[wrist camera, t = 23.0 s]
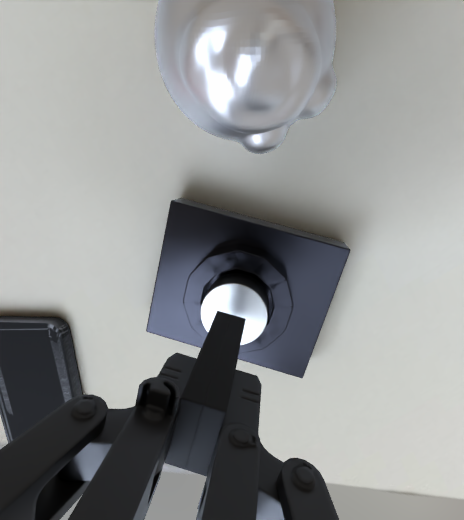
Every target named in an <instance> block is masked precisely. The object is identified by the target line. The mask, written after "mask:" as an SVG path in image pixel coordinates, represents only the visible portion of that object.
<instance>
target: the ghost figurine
mask: <svg viewBox="0 0 464 520" xmlns="http://www.w3.org/2000/svg"><path fill="white" fill-rule="evenodd" d="M335 43H336V15H335V8H334V3H333V0H159V2H158V7H157V12H156V19H155V49H156V56H157V61H158V66H159V69H160V73H161V76H162V79H163V81H164V84H165V86H166V88H167V90H168V92H169V94H170V96H171V97H172V99H173V100H174V102H175V103H176V105H177V106H178V107H179V109H180V110H181V111H182V112H183V113H184V114H185V116H186V117H187V118H188V119H190V120H191V121H192V122H193V123H194V124H196V125H197V126H198V127H200V128H201V129H203V130H204V131H206V132H208V133H210V134H212V135H215V136H217V137H220V138H223V139H228V140H233V141H237V142H239V143H240V144H241V145H242V146H243V147H244V148H245V149H247V150H248V151H249V152H252V153H255V154H264V153H268V152H270V151H273V150H275V149H276V148H277V147H279V146H280V145H281V144H282V142H283V141H284V139H285V137H286V134H287V131H288V128H289V127H290V126H291V125H292V124H293V123H294V122H296V121H297V120H300V119H308V118H312V117H315V116H317V115H318V114H320V113H321V112H322V111H323V110H324V109H325V108H326V107H327V105H328V104H329V102H330V101H331V99H332V97H333V95H334V93H335V90H336V86H337V78H336V74H335V72H334V69H333V64H332V62H333V56H334V50H335Z"/></svg>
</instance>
